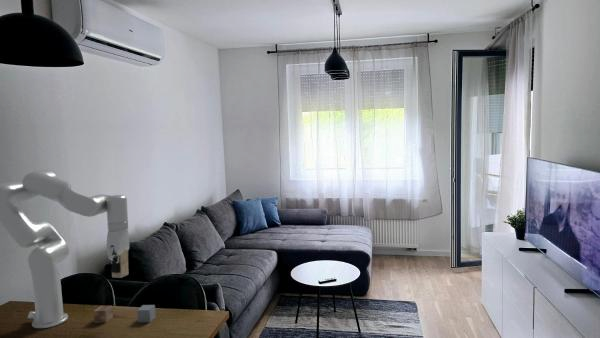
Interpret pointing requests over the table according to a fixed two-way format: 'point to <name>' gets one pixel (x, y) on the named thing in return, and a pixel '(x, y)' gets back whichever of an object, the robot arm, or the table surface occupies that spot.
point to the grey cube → (146, 313)
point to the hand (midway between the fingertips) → (120, 269)
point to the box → (122, 265)
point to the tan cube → (103, 314)
